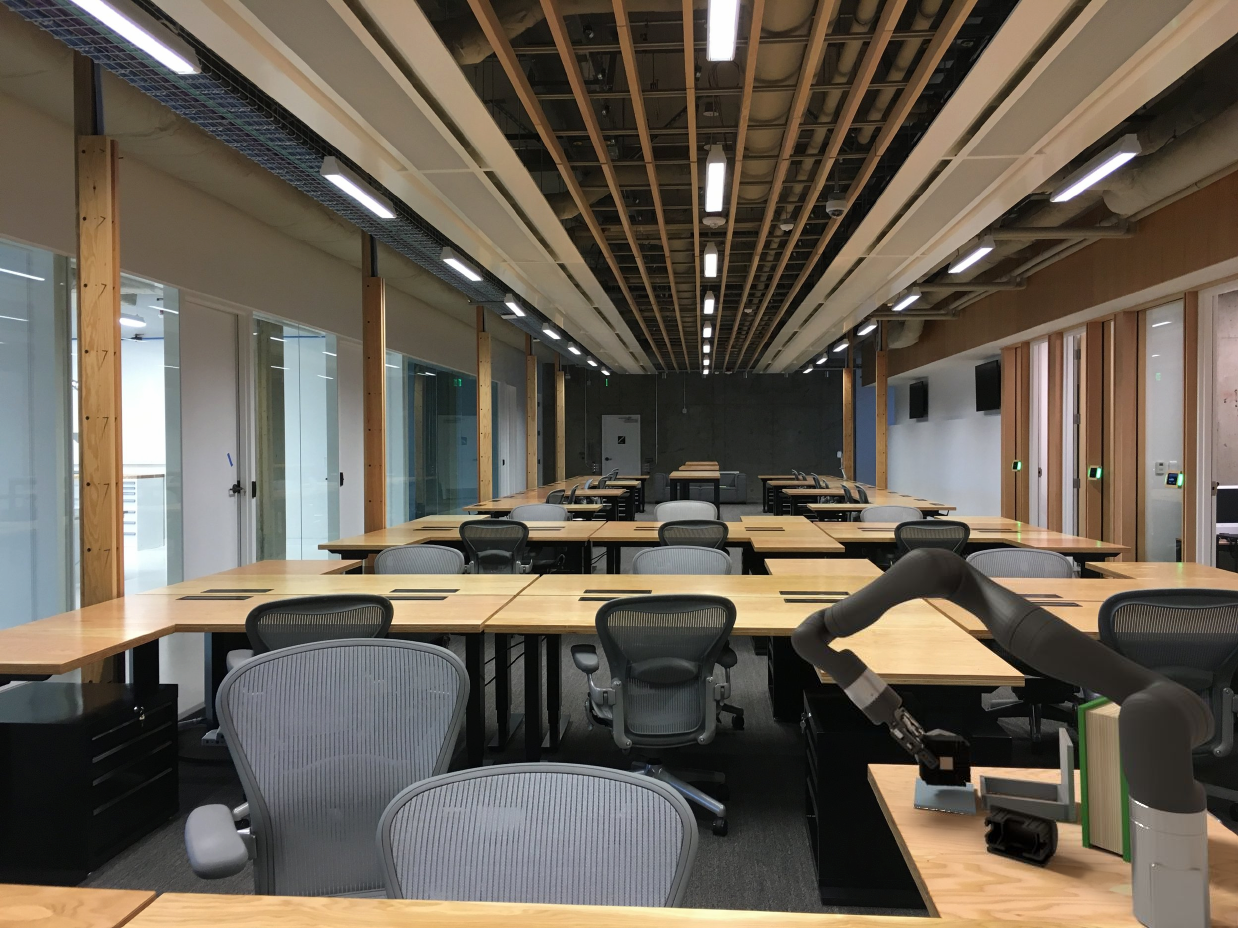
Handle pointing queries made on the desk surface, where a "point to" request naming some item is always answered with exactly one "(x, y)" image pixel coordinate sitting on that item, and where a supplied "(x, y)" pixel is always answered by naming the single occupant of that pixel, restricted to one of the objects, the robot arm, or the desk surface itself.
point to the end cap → (1021, 835)
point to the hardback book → (1103, 779)
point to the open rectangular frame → (1036, 789)
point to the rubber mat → (945, 797)
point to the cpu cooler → (946, 759)
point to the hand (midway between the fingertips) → (935, 759)
